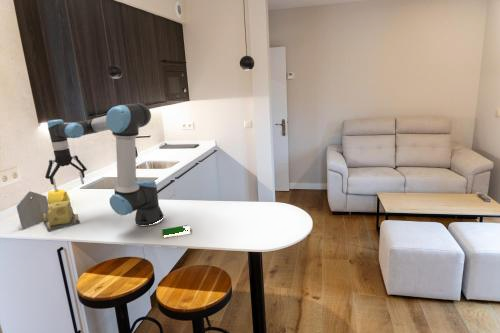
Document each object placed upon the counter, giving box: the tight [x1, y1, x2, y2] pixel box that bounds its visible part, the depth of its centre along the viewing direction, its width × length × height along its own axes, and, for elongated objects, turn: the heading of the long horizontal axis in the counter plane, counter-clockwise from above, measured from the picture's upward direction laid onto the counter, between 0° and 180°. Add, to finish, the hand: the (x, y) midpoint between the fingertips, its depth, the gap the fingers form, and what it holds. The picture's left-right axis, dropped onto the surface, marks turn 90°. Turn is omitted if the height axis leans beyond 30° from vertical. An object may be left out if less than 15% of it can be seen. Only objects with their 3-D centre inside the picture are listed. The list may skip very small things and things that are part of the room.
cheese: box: [48, 200, 73, 226], centre depth 189 cm, size 10×11×10 cm
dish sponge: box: [161, 224, 188, 237], centre depth 170 cm, size 7×14×2 cm, turn 105°
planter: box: [16, 190, 49, 231], centre depth 190 cm, size 16×8×19 cm, turn 152°
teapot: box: [47, 188, 71, 206], centre depth 217 cm, size 18×11×11 cm, turn 64°
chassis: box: [42, 206, 81, 233], centre depth 190 cm, size 16×16×5 cm
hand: (69, 186), depth 187 cm, fingers open, 13 cm apart
